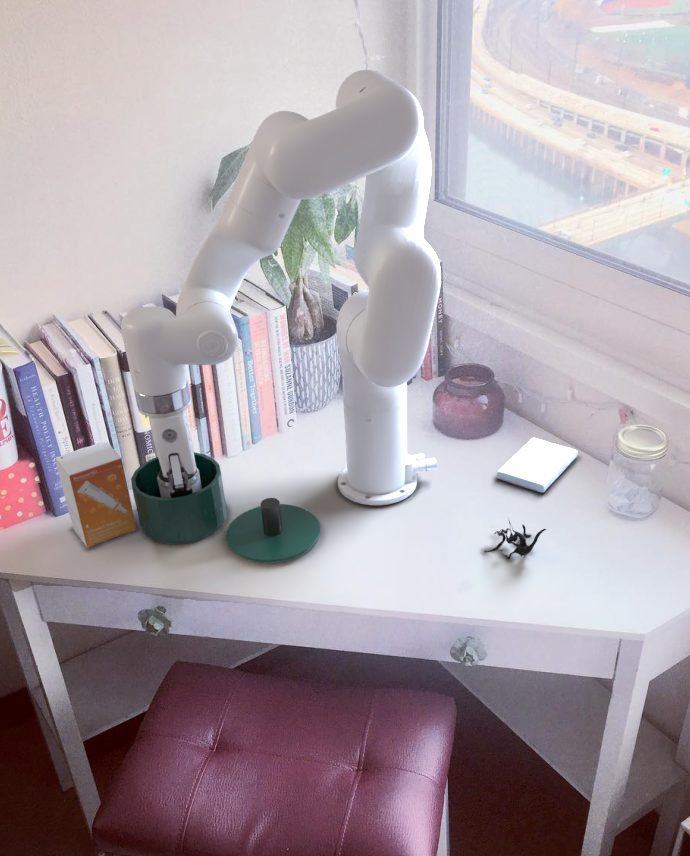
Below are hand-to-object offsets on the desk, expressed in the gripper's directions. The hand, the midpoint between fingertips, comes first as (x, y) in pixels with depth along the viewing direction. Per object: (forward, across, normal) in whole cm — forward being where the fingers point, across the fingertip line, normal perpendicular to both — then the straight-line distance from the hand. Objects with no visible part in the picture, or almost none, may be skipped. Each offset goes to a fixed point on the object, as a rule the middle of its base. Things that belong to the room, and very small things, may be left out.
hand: (183, 499), depth 138 cm
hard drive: (+4, -2, -57) cm, 57 cm away
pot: (+4, 0, 0) cm, 4 cm away
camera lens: (+3, 0, 0) cm, 3 cm away
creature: (+4, -22, -45) cm, 50 cm away
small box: (+4, 0, +12) cm, 13 cm away
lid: (+3, -9, -12) cm, 15 cm away
